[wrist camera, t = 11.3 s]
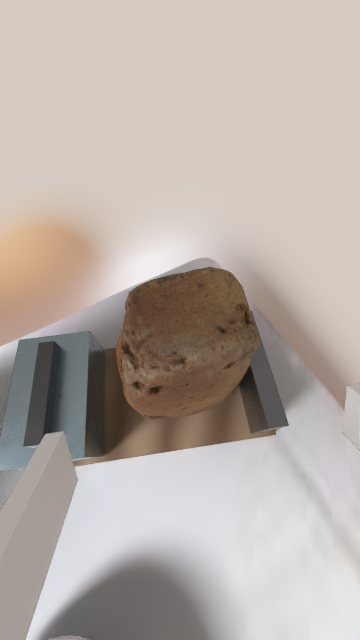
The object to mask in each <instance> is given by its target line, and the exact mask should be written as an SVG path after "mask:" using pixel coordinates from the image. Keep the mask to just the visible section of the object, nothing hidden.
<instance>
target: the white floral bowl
mask: <svg viewBox="0 0 360 640" xmlns="http://www.w3.org/2000/svg"><path fill="white" fill-rule="evenodd" d="M47 640H89V639H86V638H84V637H80V636H59V637H54V638H50V639H47Z"/></svg>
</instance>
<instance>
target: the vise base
mask: <svg viewBox="0 0 360 640" xmlns="http://www.w3.org/2000/svg"><path fill="white" fill-rule="evenodd" d="M250 313H251V316H252V320H253V322H254V324H255V326H256V323H255V320H254V317H253V314H252V311H250ZM256 329H257V326H256ZM257 331H258V329H257ZM258 335H259V332H258ZM259 341H260V345H259V347H258V348H257V350H256V351H255V353H254V354H252V355H251V360H250V366H249V367H248V369H247V371H246V373H245V374H244V376H243V378H242V380H241V381H240V382H239V383H238V385H237V386H236V387H235V388H234V390H233V391H232V393H231V394H230V395H229V396H228V397H227V398H226V399H225V400H224V401H222V402H221V403H220V404H218V405H217V406H215V407H212V408H210V409H208V410H205V411H202V412H199V413H196V414H193V415H189V416H185V417H179V418H171V419H155V420H152V419H147V418H146V417H144V416H143V415H142V414H141V413H139V412H138V411H136V410H135V409H134V408H133V407H132V406H131V405H130V404H129V403H128V402H127V400H126V398H125V395H124V391H123V390H124V389H123V383H122V380H121V376H120V372H119V368H118V364H117V358H116V348H113V349H106V350H104V351H105V421H104V457H98V458H92V459H85V460H79V461H73V465H74V466H80V465H86V464H93V463H99V462H105V461H112V460H118V459H124V458H131V457H137V456H144V455H150V454H156V453H163V452H169V451H175V450H182V449H188V448H194V447H201V446H207V445H213V444H220V443H226V442H232V441H239V440H245V439H251V438H258V437H264V436H270V435H276V433H275V430H274V429H278V428H282V427H286V426H289V424H288V421H287V418H286V415H285V412H284V409H283V406H282V403H281V400H280V397H279V394H278V391H277V388H276V384H275V381H274V378H273V375H272V372H271V369H270V366H269V363H268V360H267V357H266V354H265V351H264V347H263V344H262V341H261V338H260V335H259Z"/></svg>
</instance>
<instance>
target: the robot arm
mask: <svg viewBox="0 0 360 640" xmlns="http://www.w3.org/2000/svg"><path fill="white" fill-rule="evenodd" d="M342 434H343V435H344V436H345V437H346V438H347V439H348V440H349V441H350V442H351V443H352V444H354V445H355V446H356V447H357V448H358V449H359V450H360V384H355V385H348V386H347V390H346V400H345V410H344V420H343V430H342ZM77 481H78V479H77V476H76V472H75V469H74V465H73V462H72V459H71V455H70V452H69V448H68V445H67V441H66V438H65V434H64V431H61V432H55V433H49V434H45V436H44V437H43V439H42V441H41V442H40V444H39V446H38V448H37V449H36V451H35V453H34V454H33V456H32V458H31V460H30V461H29V463H28V465H27V466H26V468H25V470H24V471H23V473H22V475H21V477H20V478H19V480H18V482H17V483H16V485H15V487H14V489H13V490H12V492H11V494H10V495H9V497H8V499H7V500H6V502H5V504H4V506H3V507H2V509H1V511H0V640H26V637H27V633H28V630H29V627H30V624H31V621H32V618H33V615H34V612H35V609H36V606H37V603H38V600H39V597H40V594H41V591H42V588H43V585H44V581H45V578H46V575H47V572H48V569H49V566H50V563H51V560H52V557H53V554H54V551H55V548H56V545H57V542H58V539H59V536H60V533H61V529H62V526H63V523H64V520H65V517H66V514H67V511H68V508H69V505H70V502H71V499H72V496H73V493H74V490H75V487H76V484H77Z"/></svg>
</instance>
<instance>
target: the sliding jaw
mask: <svg viewBox="0 0 360 640" xmlns="http://www.w3.org/2000/svg"><path fill="white" fill-rule="evenodd" d="M104 421H105V351H104V350H103V348H102V347H101V346H100V344H99V343H98V342H97V340H96V339H95V338H94V337H93V335H92V334H91V333H90V331H88V332H80V333H72V334H64V335H56V336H48V337H40V338H32V339H24V340H19V343H18V348H17V353H16V358H15V364H14V369H13V374H12V379H11V384H10V390H9V395H8V400H7V405H6V410H5V416H4V421H3V426H2V431H1V436H0V471H6V470H15V469H25V468H26V466H27V465H28V463H29V461H30V460H31V458H32V456H33V454H34V453H35V451H36V449H37V448H38V446H39V444H40V442H41V441H42V439H43V437H44V436H45V434H49V433H55V432H61V431H64V434H65V438H66V441H67V445H68V448H69V452H70V455H71V459H72V462H73V461H79V460H85V459H92V458H98V457H104Z"/></svg>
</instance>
